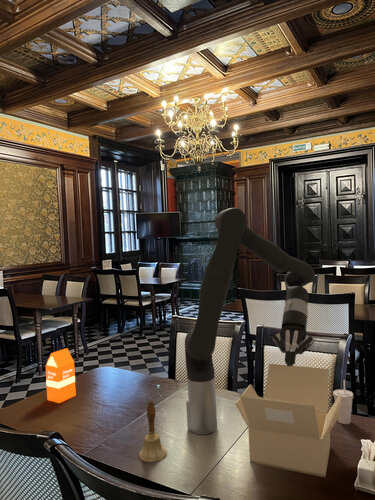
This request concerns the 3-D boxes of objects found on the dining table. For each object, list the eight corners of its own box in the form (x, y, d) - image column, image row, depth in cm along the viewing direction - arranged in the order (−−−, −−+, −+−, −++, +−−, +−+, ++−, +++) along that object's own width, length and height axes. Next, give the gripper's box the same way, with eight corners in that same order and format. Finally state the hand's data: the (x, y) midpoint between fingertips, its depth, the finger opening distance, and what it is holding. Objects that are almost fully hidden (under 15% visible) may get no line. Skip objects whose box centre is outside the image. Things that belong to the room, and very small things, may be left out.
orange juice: (47, 399, 159) (44, 352, 159) (63, 392, 167) (61, 347, 167) (59, 403, 155) (57, 354, 155) (76, 395, 163) (73, 348, 163)
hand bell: (139, 448, 117) (136, 397, 117) (166, 446, 118) (163, 395, 118) (138, 464, 109) (135, 408, 109) (167, 461, 110) (164, 406, 109)
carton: (237, 459, 109) (233, 389, 108) (260, 419, 132) (257, 362, 132) (340, 480, 97) (337, 402, 97) (345, 432, 121) (342, 369, 120)
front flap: (250, 426, 106) (250, 428, 106) (240, 394, 99) (240, 396, 99) (320, 437, 99) (320, 439, 98) (314, 404, 91) (314, 406, 91)
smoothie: (356, 426, 124) (354, 383, 124) (335, 425, 126) (334, 383, 125) (352, 417, 131) (350, 377, 130) (332, 416, 132) (330, 376, 132)
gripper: (272, 308, 124) (264, 356, 113) (315, 309, 118) (311, 360, 107) (276, 321, 128) (269, 368, 118) (317, 323, 123) (314, 373, 112)
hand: (289, 364), depth 112 cm, fingers closed
